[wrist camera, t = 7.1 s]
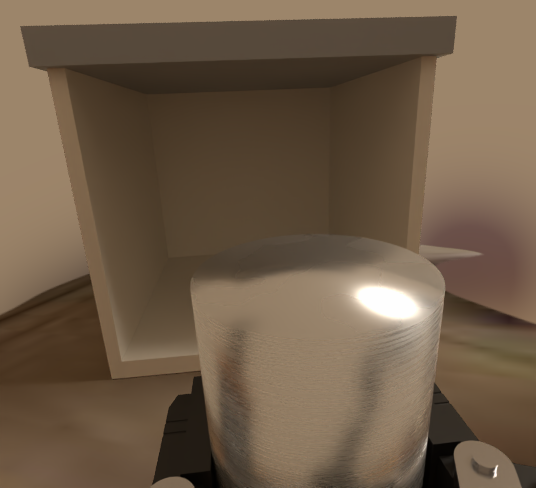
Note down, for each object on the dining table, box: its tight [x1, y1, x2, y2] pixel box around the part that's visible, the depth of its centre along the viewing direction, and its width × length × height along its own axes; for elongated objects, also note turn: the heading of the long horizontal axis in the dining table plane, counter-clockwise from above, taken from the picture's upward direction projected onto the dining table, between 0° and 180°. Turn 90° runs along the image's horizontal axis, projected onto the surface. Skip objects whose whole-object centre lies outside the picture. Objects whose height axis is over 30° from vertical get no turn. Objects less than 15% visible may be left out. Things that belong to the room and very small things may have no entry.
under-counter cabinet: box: [21, 16, 457, 379], centre depth 37 cm, size 25×25×24 cm
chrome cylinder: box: [190, 234, 445, 488], centre depth 10 cm, size 5×5×12 cm
